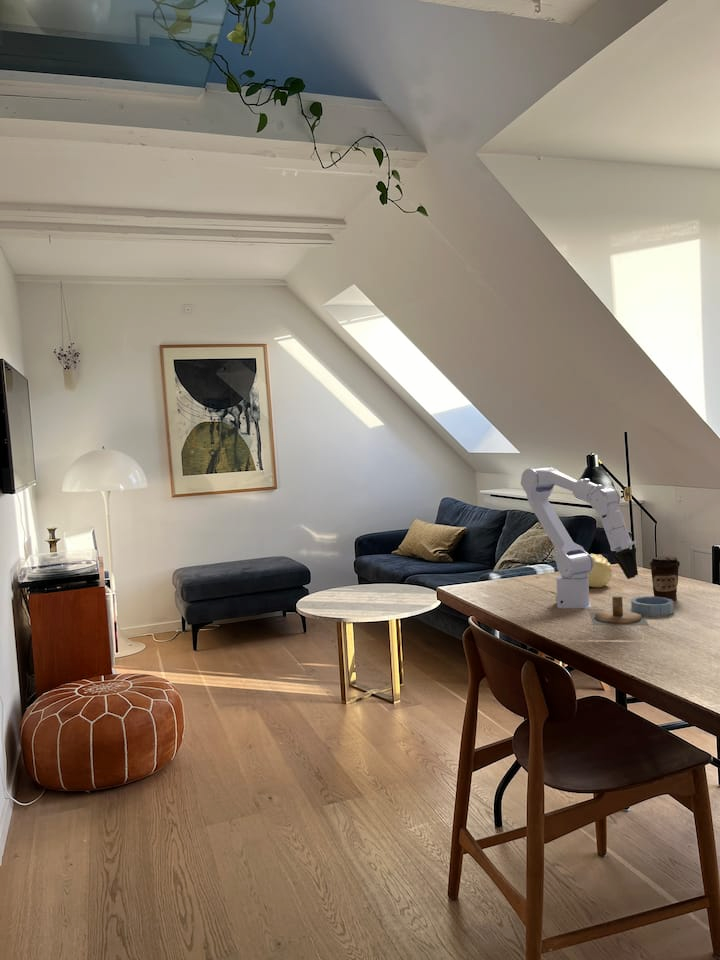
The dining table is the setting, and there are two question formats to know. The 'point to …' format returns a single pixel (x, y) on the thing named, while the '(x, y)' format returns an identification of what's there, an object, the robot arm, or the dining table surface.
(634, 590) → the dining table surface
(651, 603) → the dish
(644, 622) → the plate
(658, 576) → the coffee cup
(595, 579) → the sculpture
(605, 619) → the lid
